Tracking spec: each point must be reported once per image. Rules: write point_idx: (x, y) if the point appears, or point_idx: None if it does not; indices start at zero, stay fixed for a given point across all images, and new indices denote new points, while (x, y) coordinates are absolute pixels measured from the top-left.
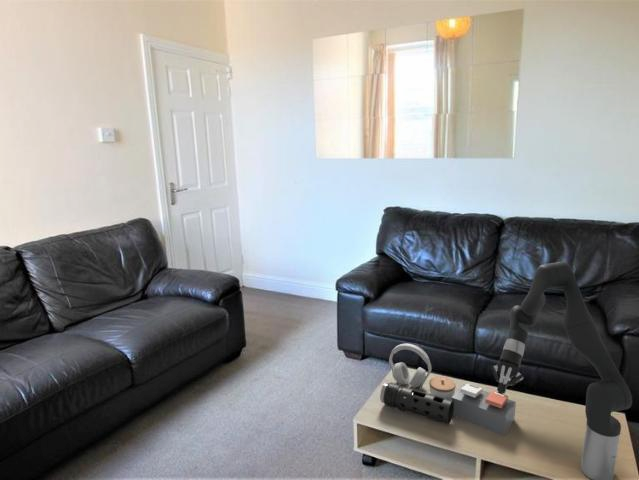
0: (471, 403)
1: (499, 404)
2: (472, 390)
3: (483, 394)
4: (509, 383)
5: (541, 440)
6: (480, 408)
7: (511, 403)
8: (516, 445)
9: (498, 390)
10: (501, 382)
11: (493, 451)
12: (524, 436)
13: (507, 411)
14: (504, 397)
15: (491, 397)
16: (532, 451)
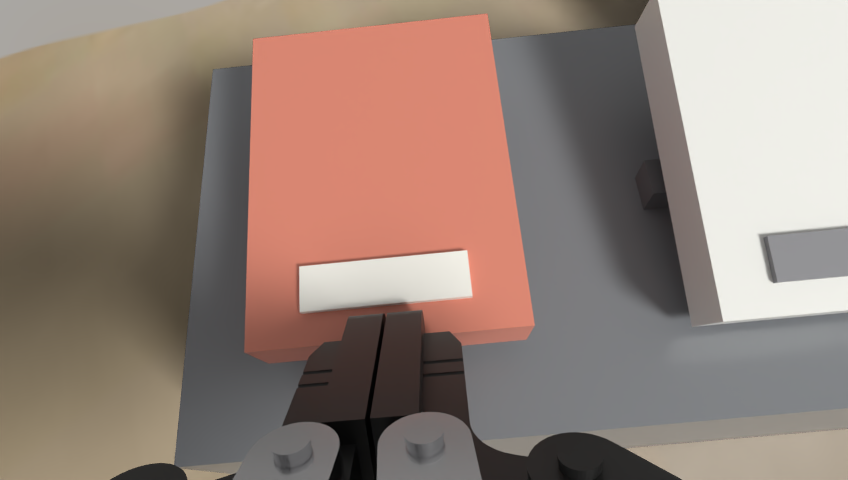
0: (630, 41)
1: (286, 40)
2: (760, 63)
3: (646, 314)
4: (168, 477)
5: (11, 337)
6: (506, 43)
7: (223, 371)
8: (182, 155)
9: (420, 317)
10: (400, 426)
11: (300, 16)
12: (145, 292)
13: (227, 170)
14: (282, 254)
15: (442, 104)
16: (71, 170)
